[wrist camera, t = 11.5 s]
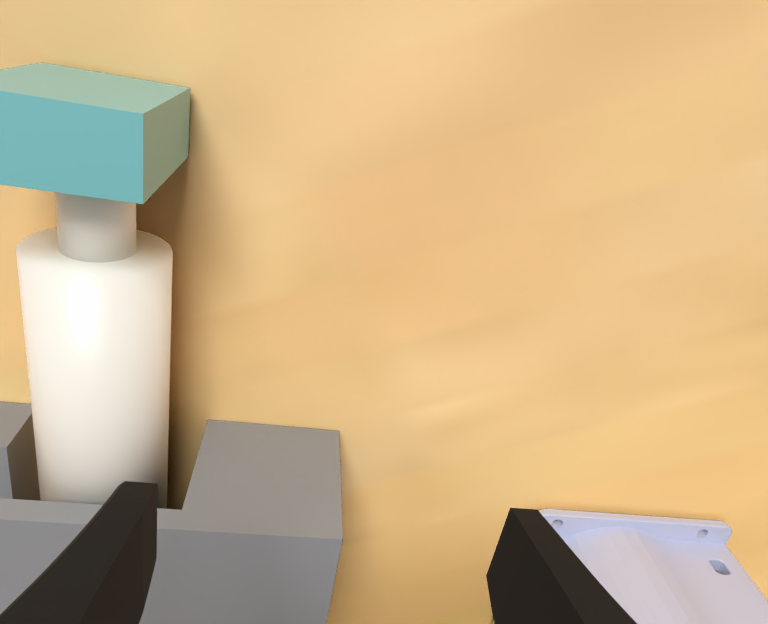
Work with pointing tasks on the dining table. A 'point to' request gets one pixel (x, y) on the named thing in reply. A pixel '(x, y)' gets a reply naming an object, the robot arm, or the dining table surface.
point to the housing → (202, 525)
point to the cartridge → (95, 272)
